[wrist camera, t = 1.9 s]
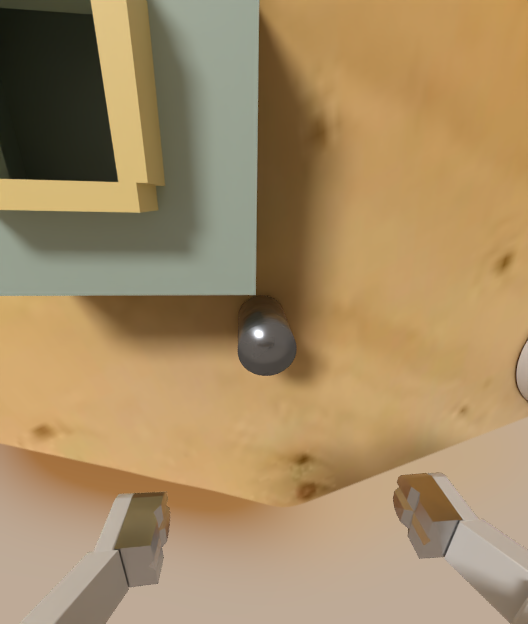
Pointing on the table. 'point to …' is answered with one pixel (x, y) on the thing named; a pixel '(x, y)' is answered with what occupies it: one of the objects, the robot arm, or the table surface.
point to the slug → (264, 337)
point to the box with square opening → (128, 147)
